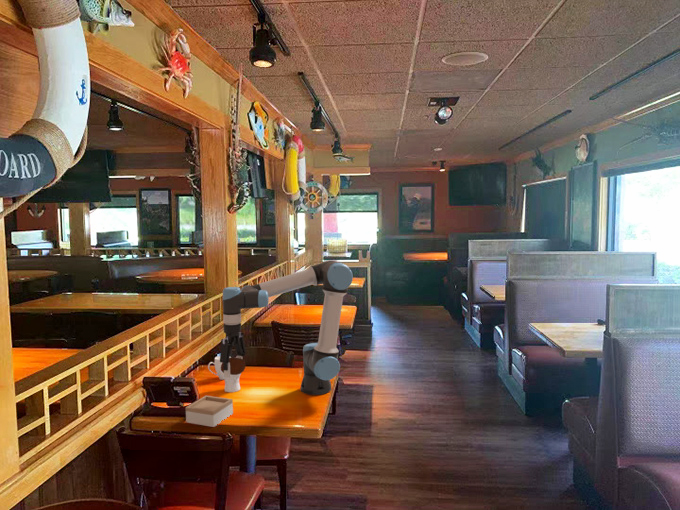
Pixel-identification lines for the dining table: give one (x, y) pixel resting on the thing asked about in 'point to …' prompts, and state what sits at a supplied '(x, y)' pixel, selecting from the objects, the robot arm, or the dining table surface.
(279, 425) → the dining table surface
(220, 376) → the mug
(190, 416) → the tray
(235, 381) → the cup
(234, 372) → the potato
